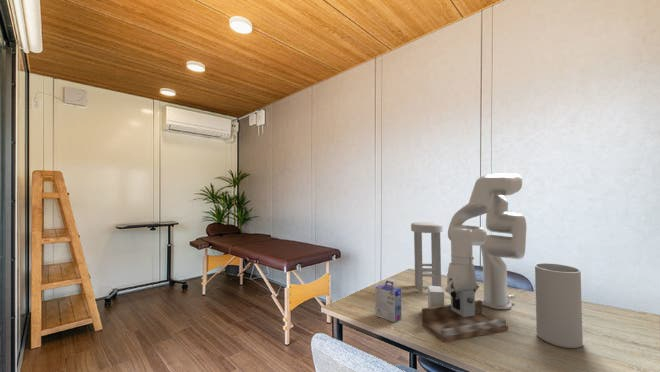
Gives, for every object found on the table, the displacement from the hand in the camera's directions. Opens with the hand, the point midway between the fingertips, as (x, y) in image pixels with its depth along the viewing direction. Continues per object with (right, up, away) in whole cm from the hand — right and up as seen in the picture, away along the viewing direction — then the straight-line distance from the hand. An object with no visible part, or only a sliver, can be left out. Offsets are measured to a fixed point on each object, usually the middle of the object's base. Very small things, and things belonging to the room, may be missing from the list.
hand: (462, 307), depth 109 cm
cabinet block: (0, -2, 0) cm, 2 cm away
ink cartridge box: (-27, -8, +9) cm, 29 cm away
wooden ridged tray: (0, -8, -1) cm, 8 cm away
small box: (-6, -8, +12) cm, 16 cm away
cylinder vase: (+29, -7, -10) cm, 32 cm away
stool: (+1, -9, +42) cm, 43 cm away
